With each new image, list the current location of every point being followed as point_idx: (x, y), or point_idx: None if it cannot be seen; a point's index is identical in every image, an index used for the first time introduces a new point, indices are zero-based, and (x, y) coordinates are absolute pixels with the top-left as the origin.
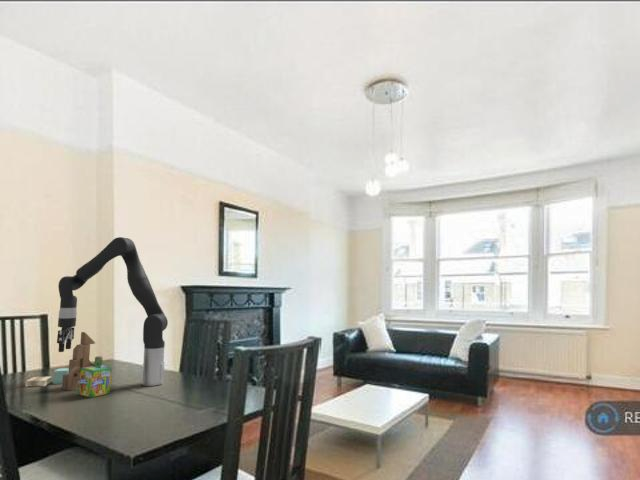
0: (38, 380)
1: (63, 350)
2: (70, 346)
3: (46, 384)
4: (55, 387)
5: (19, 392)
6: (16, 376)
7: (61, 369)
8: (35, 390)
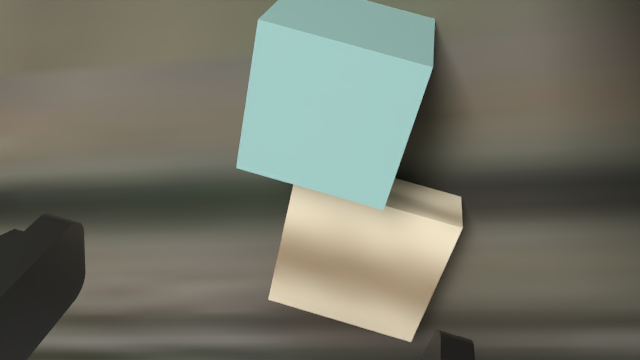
0: (439, 271)
1: (473, 357)
2: (43, 251)
3: (422, 188)
4: (584, 111)
5: (606, 333)
6: (55, 348)
7: (308, 142)
8: (607, 249)
